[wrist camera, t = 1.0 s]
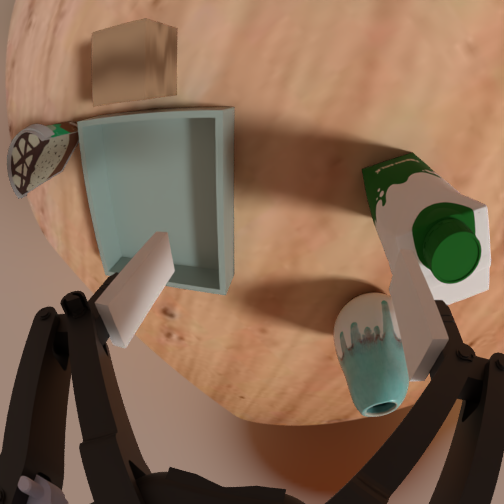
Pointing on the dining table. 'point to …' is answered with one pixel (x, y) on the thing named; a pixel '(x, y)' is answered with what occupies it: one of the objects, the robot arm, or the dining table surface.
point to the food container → (40, 154)
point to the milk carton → (430, 226)
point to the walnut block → (134, 62)
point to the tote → (164, 189)
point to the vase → (371, 354)
